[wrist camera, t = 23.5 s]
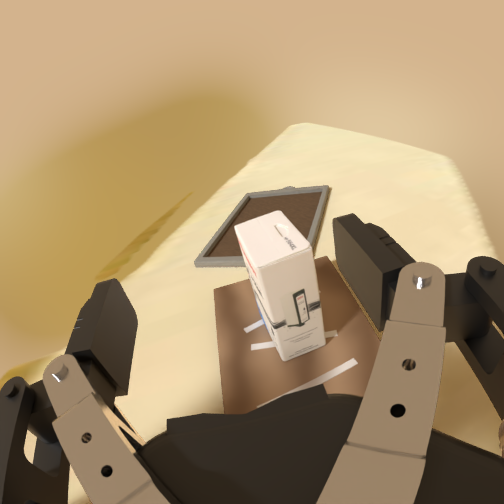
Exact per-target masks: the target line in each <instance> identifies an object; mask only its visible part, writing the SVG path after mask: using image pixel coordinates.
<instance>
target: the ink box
mask: <svg viewBox="0 0 504 504" xmlns="http://www.w3.org/2000/svg"><path fill="white" fill-rule="evenodd" d="M234 228H235V231H236V235H237V238H238V241H239V245H240V248H241V251H242V255H243V258H244V261H245V265H246V268H247V272H248V275H249V278H250V282H251V285H252V288H253V292H254V295H255V299H256V302H257V306H258V309H259V313H260V315H261V317H262V320H263V322H264V324H265V326H266V328H267V330H268V332H269V334H270V336H271V338H272V340H273V342H274V345H275V347H276V349H277V351H278V353H279V355H280V357H281V359H282V360H283V361H288V360H290V359H292V358H295V357H297V356H300V355H302V354H305V353H308V352H310V351H312V350H315V349H317V348H319V347H322V346H324V345H326V339H325V332H324V324H323V316H322V309H321V302H320V295H319V287H318V281H317V275H316V269H315V263H314V256H313V250H312V247H311V245H310V243H309V242H308V241H307V240H306V239H305V237H304V236H303V235H302V234H301V233H300V232H299V231H298V230H297V228H296V227H295V226H294V225H293V224H292V223H291V222H290V221H289V219H288V218H287V217H286V216H285V215H284V214H283V213H282V211H274V212H271V213H269V214H266V215H263V216H260V217H257V218H254V219H251V220H248V221H246V222H243V223H240V224H238V225H235V226H234Z"/></svg>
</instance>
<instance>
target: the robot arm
mask: <svg viewBox="0 0 504 504" xmlns="http://www.w3.org/2000/svg"><path fill="white" fill-rule="evenodd" d="M333 234H334V243H335V254H336V260H337V264H338V267H339V269H340V271H341V273H342V274H343V276H344V277H345V279H346V280H347V282H348V283H349V285H350V287H351V288H352V290H353V291H354V293H355V294H356V296H357V297H358V299H359V300H360V302H361V304H362V305H363V307H364V308H365V310H366V311H367V313H368V315H369V316H370V318H371V319H372V321H373V323H374V324H375V326H376V327H377V329H378V331H379V332H381V331H383V330H384V331H383V335H382V339H381V342H380V346H379V350H378V353H377V356H376V360H375V363H374V366H373V370H372V373H371V376H370V379H369V382H368V385H367V388H366V391H365V394H364V397H362V396H357V395H352V394H340V393H333V394H327V392H326V390H325V387H324V384H320V385H316V386H313V387H310V388H307V389H303V390H300V391H296V392H293V393H289V394H286V395H283V396H281V397H279V398H277V399H275V400H273V401H271V402H269V403H267V404H265V405H263V406H261V407H259V408H257V409H255V410H253V411H250V412H248V413H246V414H206V413H202V414H197V415H191V416H185V417H179V418H172V419H167V431H165V432H163V433H161V434H159V435H157V436H155V437H154V438H152V439H151V440H149V441H148V442H147V443H146V442H145V441H144V440H143V439H142V438H141V436H140V435H139V434H138V433H137V431H136V430H135V429H134V428H133V426H132V425H131V424H130V422H129V421H128V420H127V418H126V417H125V416H124V414H123V413H122V412H121V410H120V409H119V408H118V406H117V405H116V404H115V403H114V401H115V397H117V396H124V395H128V387H129V379H130V371H131V364H132V358H133V351H134V345H135V338H136V332H137V327H138V320H137V315H136V312H135V310H134V308H133V306H132V305H131V303H130V301H129V299H128V297H127V296H126V294H125V292H124V290H123V288H122V286H121V284H120V283H119V281H118V280H117V279H115V278H114V279H111V280H107V281H103V282H100V283H97V284H96V286H95V288H94V291H93V293H92V296H91V298H90V299H88V301H87V302H86V303H85V305H84V306H83V307H82V308H81V310H80V313H79V315H78V318H77V320H78V321H76V324H75V326H74V328H75V329H73V332H72V334H71V337H70V340H69V343H68V346H67V349H66V351H65V354H64V355H61V356H59V357H57V358H55V359H54V360H53V361H51V362H50V363H49V365H48V366H47V367H46V369H45V371H44V374H43V380H40V381H38V382H36V383H34V384H32V385H29V384H28V383H27V382H26V381H25V380H24V379H23V378H22V377H14V378H11V379H10V380H9V381H7V382H6V383H5V384H4V386H3V387H2V389H1V391H0V504H68V485H69V470H70V464H71V466H72V468H73V470H74V472H75V474H76V476H77V478H78V479H79V481H80V483H81V485H82V487H83V488H84V490H85V492H86V494H87V495H88V497H89V499H90V500H91V502H92V504H504V339H503V338H502V336H501V335H500V334H499V332H498V331H497V330H496V328H495V327H494V326H493V325H492V321H494V322H495V323H496V325H497V326H498V327H499V329H500V330H501V331H502V333H503V334H504V265H503V264H502V263H501V262H499V261H498V260H496V259H494V258H491V257H486V256H479V257H475V258H473V259H471V260H470V261H469V262H468V265H467V270H466V273H456V274H445V275H444V273H443V272H442V271H441V269H439V268H438V267H437V266H435V265H432V264H430V263H425V262H416V261H415V260H414V259H413V258H412V257H411V256H410V255H409V254H408V253H407V252H406V251H405V250H404V249H403V248H402V247H401V246H400V245H399V244H398V243H396V241H395V240H394V239H393V238H392V237H390V236H389V234H388V233H387V232H386V231H385V230H383V229H382V228H381V227H379V226H376V225H374V224H372V223H367V224H364V223H363V222H362V221H361V220H360V219H359V218H358V217H357V216H356V215H355V214H353V213H352V214H348V215H344V216H341V217H337V218H334V219H333ZM447 342H455V343H456V345H457V346H458V348H459V349H460V351H461V352H462V354H463V355H464V357H465V359H466V360H467V362H468V363H469V365H470V366H471V368H472V370H473V371H474V373H475V375H476V376H477V378H478V379H479V381H480V383H481V384H482V386H483V388H484V390H485V391H486V393H487V395H488V396H489V398H490V400H491V402H492V403H493V405H494V407H495V409H496V411H497V412H498V414H499V416H500V418H501V420H502V423H501V425H500V428H499V440H500V445H499V446H500V449H501V451H502V457H501V456H499V455H496V454H494V453H491V452H489V451H486V450H484V449H481V448H478V447H476V446H473V445H471V444H468V443H466V442H464V441H461V440H459V439H456V438H454V437H452V436H449V435H447V434H445V433H442V432H440V431H438V430H435V429H433V428H432V425H433V420H434V415H435V410H436V405H437V399H438V393H439V387H440V380H441V373H442V366H443V357H444V348H445V343H447ZM27 429H28V430H29V431H30V432H31V433H32V434H34V435H35V436H36V437H37V441H36V447H35V453H34V460H33V464H32V463H30V462H29V461H28V460H27V459H26V457H25V454H24V444H25V439H26V434H27Z"/></svg>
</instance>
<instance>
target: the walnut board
mask: <svg viewBox="0 0 504 504" xmlns="http://www.w3.org/2000/svg"><path fill="white" fill-rule="evenodd" d="M314 263H315V269H316V275H317V281H318V287H319V295H320V302H321V309H322V316H323V324H324V332H325V339H326V345H324V346H322V347H319V348H317V349H315V350H312V351H310V352H308V353H305V354H302V355H300V356H297V357H295V358H292V359H290V360H288V361H283V360H282V359H281V357H280V355H279V353H278V351H277V349H276V347H275V345H274V342H273V340H272V338H271V336H270V334H269V332H268V330H267V328H266V326H265V324H264V322H263V320H262V317H261V315H260V313H259V309H258V306H257V302H256V299H255V295H254V292H253V288H252V285H251V282H250V279H247V280H244V281H240V282H237V283H233V284H230V285H227V286H223V287H220V288H216V289H214V301H215V315H216V328H217V340H218V352H219V363H220V374H221V385H222V395H223V404H224V414H246V413H248V412H250V411H253V410H255V409H257V408H259V407H261V406H263V405H265V404H267V403H269V402H271V401H273V400H275V399H277V398H279V397H281V396H283V395H286V394H289V393H293V392H296V391H300V390H303V389H307V388H310V387H313V386H316V385H320V384H324V387H325V390H326V392H327V394H333V393H340V394H352V395H357V396H362V397H364V394H365V391H366V388H367V385H368V382H369V379H370V376H371V373H372V370H373V366H374V363H375V360H376V356H377V353H378V350H379V346H380V340H379V338H378V337H377V335H376V333H375V332H374V330H373V328H372V327H371V325H370V323H369V322H368V320H367V318H366V317H365V315H364V314H363V312H362V310H361V309H360V307H359V305H358V304H357V302H356V301H355V299H354V297H353V296H352V294H351V293H350V291H349V289H348V288H347V286H346V285H345V283H344V282H343V280H342V278H341V277H340V275H339V274H338V272H337V271H336V269H335V268H334V266H333V264H332V263H331V261H330V260H329V258H328V257H327V256H324V257H321V258H318V259H314Z"/></svg>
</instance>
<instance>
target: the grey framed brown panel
mask: <svg viewBox="0 0 504 504" xmlns="http://www.w3.org/2000/svg"><path fill="white" fill-rule="evenodd" d="M328 193H329V186H328V185H325V186H313V187H302V188H295V187H291V186H289V187H285V188H283V189H279V190H271V191H262V192H253V193H247V194H246V195H245V196H244V197H243V199H242V200H241V201H240V202H239V204H238V205H237V206H236V208H235V209H234V210H233V211H232V213H231V214H230V215H229V217H228V218H227V219H226V220H225V222H224V223H223V224H222V226H221V227H220V228H219V229H218V231H217V232H216V233H215V235H214V236H213V237H212V239H211V240H210V241H209V242H208V244H207V245H206V246H205V248H204V249H203V250H202V252H201V253H200V254H199V256H198V257H197V258H196V260H195V261H194V264H195V267H246V265H245V261H244V258H243V255H242V251H241V248H240V245H239V241H238V238H237V235H236V231H235V228H234V226H235V225H238V224H240V223H243V222H246V221H248V220H251V219H254V218H257V217H260V216H263V215H266V214H269V213H271V212H274V211H282V213H283V214H284V215H285V216H286V217H287V218H288V219H289V221H290V222H291V223H292V224H293V225H294V226H295V227H296V228H297V230H298V231H299V232H300V233H301V234H302V235H303V236H304V237H305V239H306V240H307V241H308V242H309V243H310V245H311V247H312V250H313V248H314V245H315V241H316V238H317V234H318V231H319V227H320V223H321V220H322V216H323V212H324V208H325V205H326V201H327V197H328Z"/></svg>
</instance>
